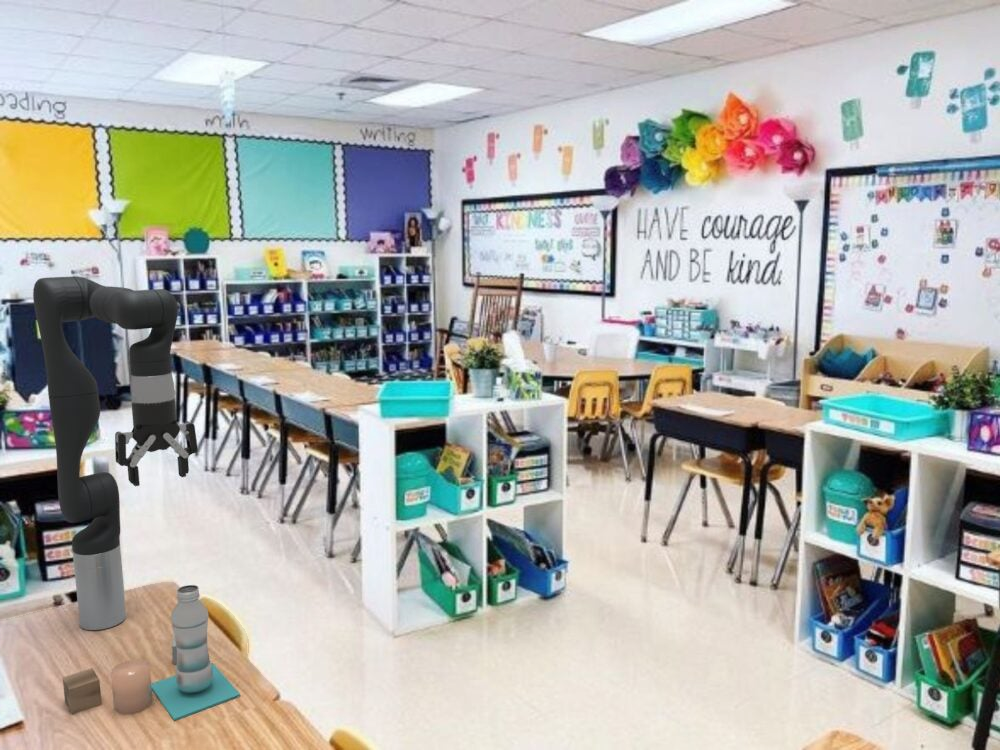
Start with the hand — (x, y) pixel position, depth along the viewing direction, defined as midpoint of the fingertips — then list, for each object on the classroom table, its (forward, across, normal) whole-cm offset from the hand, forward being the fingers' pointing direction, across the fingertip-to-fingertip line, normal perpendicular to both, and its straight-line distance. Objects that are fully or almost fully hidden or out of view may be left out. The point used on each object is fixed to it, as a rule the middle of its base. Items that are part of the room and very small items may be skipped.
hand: (159, 480), depth 153 cm
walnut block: (+38, +17, +3) cm, 42 cm away
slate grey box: (+38, -3, -2) cm, 38 cm away
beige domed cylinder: (+38, +10, +9) cm, 40 cm away
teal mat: (+38, 0, +12) cm, 40 cm away
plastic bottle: (+38, 0, +12) cm, 40 cm away
